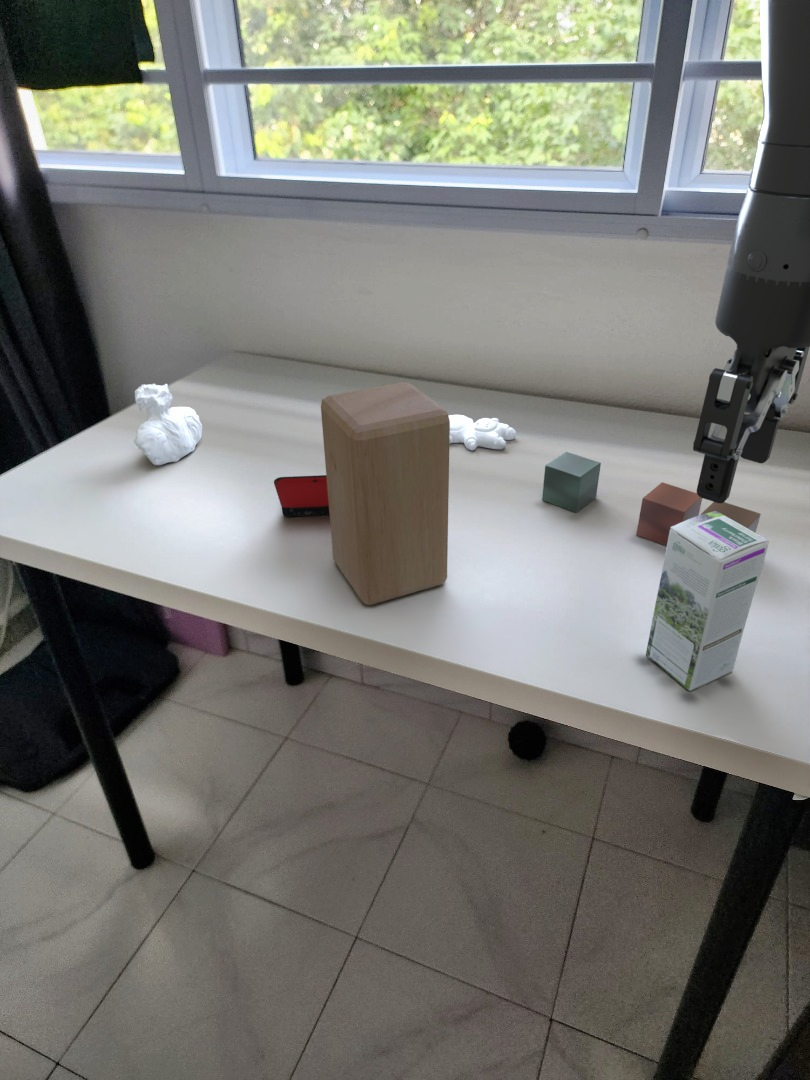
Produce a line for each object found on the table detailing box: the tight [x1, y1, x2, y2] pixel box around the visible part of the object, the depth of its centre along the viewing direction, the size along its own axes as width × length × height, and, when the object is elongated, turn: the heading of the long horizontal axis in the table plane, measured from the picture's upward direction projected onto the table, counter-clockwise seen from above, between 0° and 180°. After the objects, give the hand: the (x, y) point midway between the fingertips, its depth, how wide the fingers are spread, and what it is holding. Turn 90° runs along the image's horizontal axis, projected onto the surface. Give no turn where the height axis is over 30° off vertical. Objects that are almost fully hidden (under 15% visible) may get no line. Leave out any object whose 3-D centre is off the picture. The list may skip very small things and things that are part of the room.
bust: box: [134, 383, 203, 466], centre depth 107 cm, size 12×8×11 cm
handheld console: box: [273, 474, 330, 518], centre depth 93 cm, size 12×11×7 cm
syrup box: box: [645, 511, 770, 691], centre depth 65 cm, size 6×6×14 cm
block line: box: [541, 451, 762, 547], centre depth 89 cm, size 24×5×5 cm, turn 49°
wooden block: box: [320, 381, 450, 606], centre depth 77 cm, size 10×10×20 cm
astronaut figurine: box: [448, 414, 517, 451], centre depth 111 cm, size 9×12×3 cm
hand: (733, 478), depth 59 cm, fingers open, 8 cm apart
